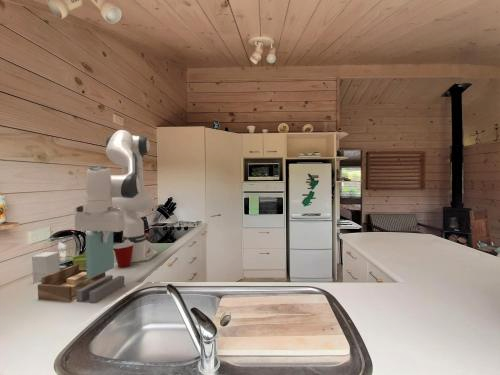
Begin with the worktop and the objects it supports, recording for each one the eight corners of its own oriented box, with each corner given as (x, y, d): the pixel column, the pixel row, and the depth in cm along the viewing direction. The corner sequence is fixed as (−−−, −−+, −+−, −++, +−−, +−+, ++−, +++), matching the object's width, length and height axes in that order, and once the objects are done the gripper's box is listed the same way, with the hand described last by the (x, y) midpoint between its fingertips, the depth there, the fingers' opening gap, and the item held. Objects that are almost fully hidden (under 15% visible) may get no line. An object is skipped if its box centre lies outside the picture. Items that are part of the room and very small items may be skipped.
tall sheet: (109, 267, 108) (108, 229, 108) (114, 267, 108) (113, 229, 108) (86, 278, 97) (85, 235, 96) (91, 278, 96) (90, 235, 96)
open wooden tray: (78, 284, 116) (77, 263, 115) (105, 286, 113) (105, 264, 113) (38, 303, 98) (37, 278, 98) (69, 306, 95) (68, 280, 95)
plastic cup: (113, 264, 142) (112, 243, 142) (134, 261, 146) (134, 240, 146) (111, 270, 132) (111, 247, 132) (134, 267, 137) (134, 245, 136)
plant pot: (98, 271, 132) (98, 254, 132) (85, 278, 123) (84, 260, 122) (81, 270, 133) (81, 254, 133) (66, 277, 124) (66, 259, 123)
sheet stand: (108, 287, 112) (107, 274, 111) (124, 288, 110) (124, 276, 110) (76, 305, 96) (76, 290, 96) (95, 307, 94) (94, 292, 94)
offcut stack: (85, 284, 111) (84, 270, 111) (95, 285, 110) (94, 271, 110) (59, 297, 100) (59, 281, 99) (70, 298, 99) (70, 282, 98)
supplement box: (61, 278, 123) (60, 251, 123) (47, 284, 116) (46, 256, 116) (46, 277, 124) (45, 251, 124) (32, 283, 117) (31, 256, 116)
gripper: (128, 206, 103) (129, 241, 103) (84, 206, 107) (85, 239, 107) (117, 208, 97) (118, 245, 97) (70, 207, 101) (71, 243, 101)
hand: (100, 242), depth 102 cm, fingers closed on tall sheet, 2 cm apart
